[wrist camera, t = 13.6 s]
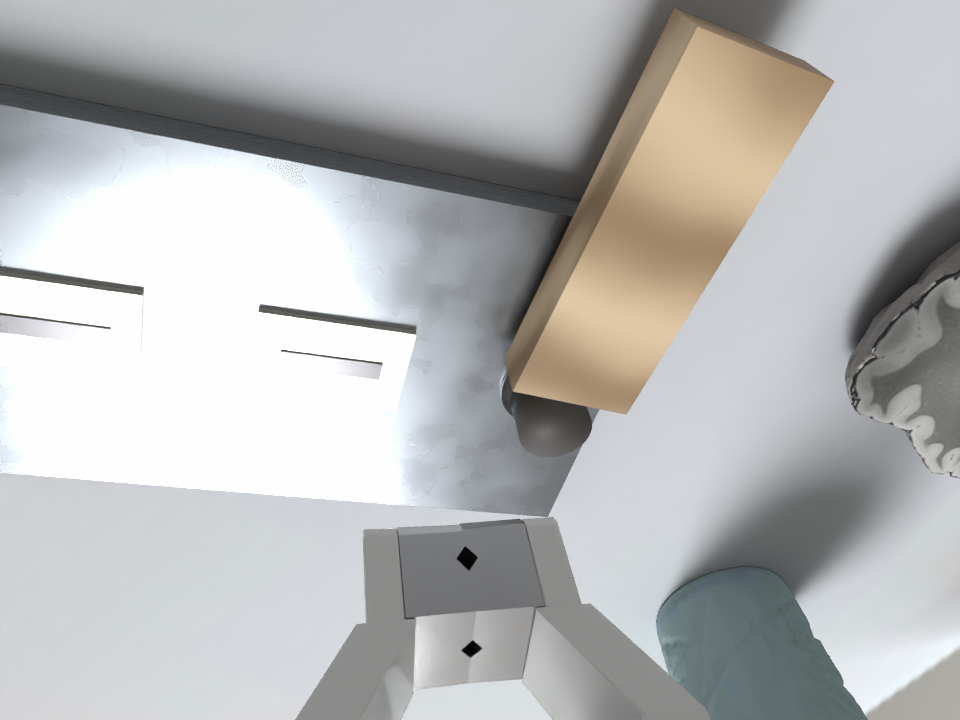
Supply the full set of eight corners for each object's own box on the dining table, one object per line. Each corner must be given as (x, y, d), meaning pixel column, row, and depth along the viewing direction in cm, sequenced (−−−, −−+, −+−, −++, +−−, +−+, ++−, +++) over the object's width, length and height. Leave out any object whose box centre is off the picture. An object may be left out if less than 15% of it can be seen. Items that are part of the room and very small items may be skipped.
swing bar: (582, 433, 35) (594, 466, 33) (477, 413, 33) (484, 446, 32) (804, 60, 26) (834, 81, 24) (674, 7, 24) (697, 26, 22)
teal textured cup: (828, 567, 48) (945, 766, 39) (746, 660, 54) (831, 853, 44) (685, 552, 45) (775, 764, 36) (614, 652, 51) (676, 858, 41)
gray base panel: (-89, 438, 32) (-110, 470, 31) (-165, 50, 23) (-199, 71, 22) (541, 494, 40) (549, 522, 39) (668, 219, 31) (684, 242, 30)
